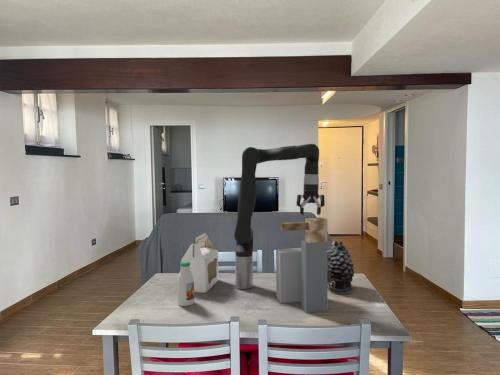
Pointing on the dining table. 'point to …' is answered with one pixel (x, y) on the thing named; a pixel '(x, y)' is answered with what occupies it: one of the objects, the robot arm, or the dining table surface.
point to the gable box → (203, 263)
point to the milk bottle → (185, 285)
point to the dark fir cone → (339, 269)
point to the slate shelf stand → (303, 276)
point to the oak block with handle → (309, 229)
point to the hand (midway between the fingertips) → (310, 214)
